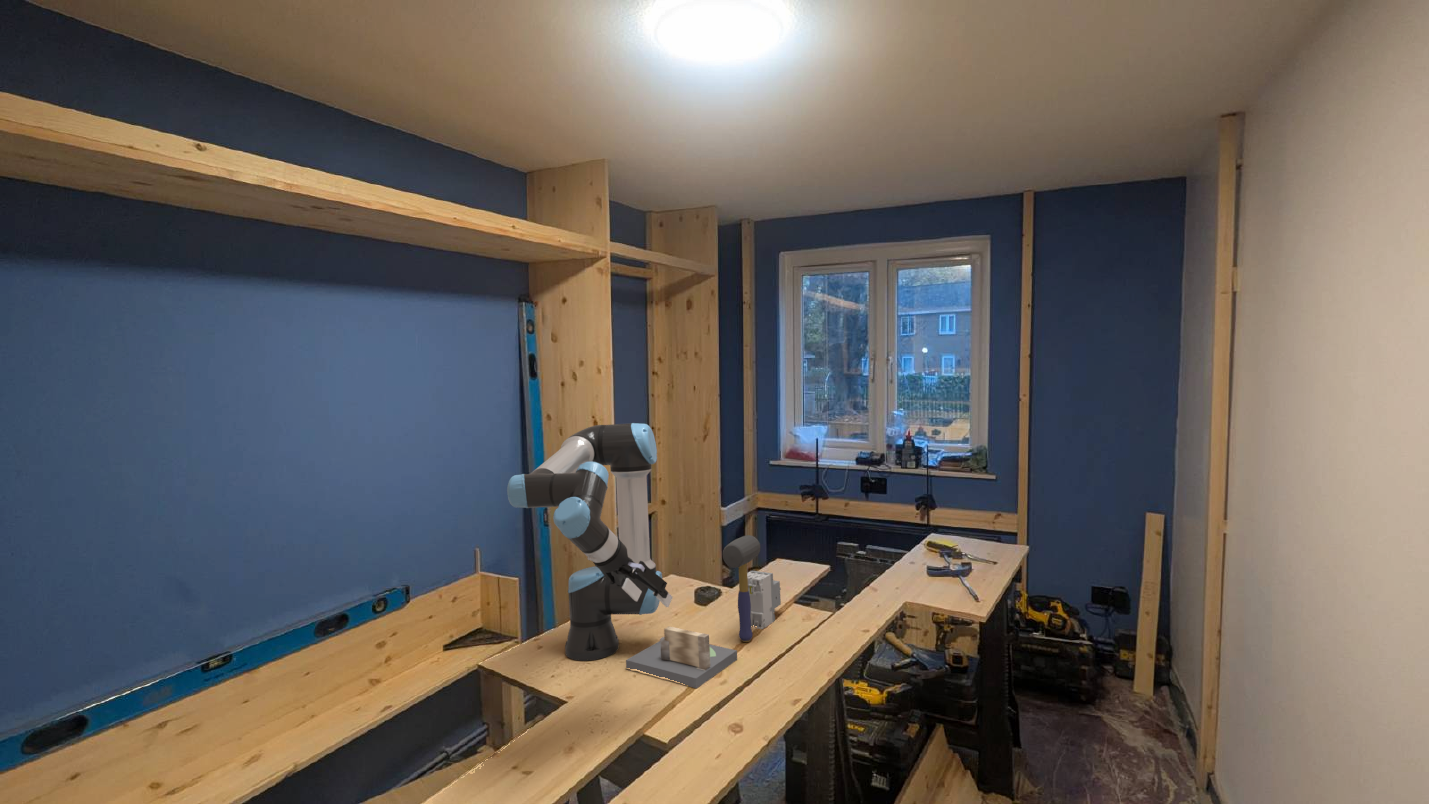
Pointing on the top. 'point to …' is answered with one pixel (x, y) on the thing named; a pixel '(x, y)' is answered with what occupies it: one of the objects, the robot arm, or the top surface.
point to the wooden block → (685, 647)
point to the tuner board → (681, 665)
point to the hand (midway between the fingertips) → (653, 599)
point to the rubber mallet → (742, 578)
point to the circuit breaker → (763, 598)
